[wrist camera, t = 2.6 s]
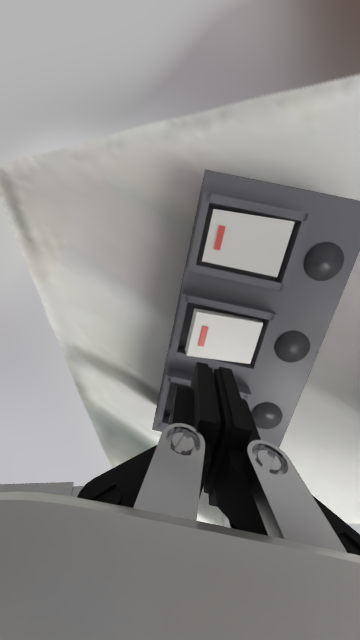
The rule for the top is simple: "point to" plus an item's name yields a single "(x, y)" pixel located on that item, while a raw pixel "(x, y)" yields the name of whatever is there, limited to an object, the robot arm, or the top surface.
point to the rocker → (247, 242)
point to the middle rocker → (222, 336)
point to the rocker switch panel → (266, 295)
